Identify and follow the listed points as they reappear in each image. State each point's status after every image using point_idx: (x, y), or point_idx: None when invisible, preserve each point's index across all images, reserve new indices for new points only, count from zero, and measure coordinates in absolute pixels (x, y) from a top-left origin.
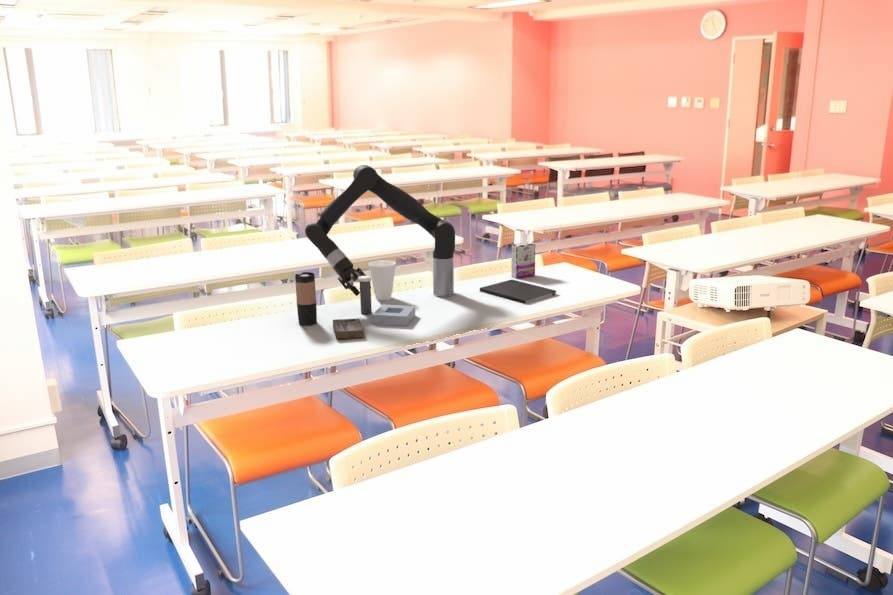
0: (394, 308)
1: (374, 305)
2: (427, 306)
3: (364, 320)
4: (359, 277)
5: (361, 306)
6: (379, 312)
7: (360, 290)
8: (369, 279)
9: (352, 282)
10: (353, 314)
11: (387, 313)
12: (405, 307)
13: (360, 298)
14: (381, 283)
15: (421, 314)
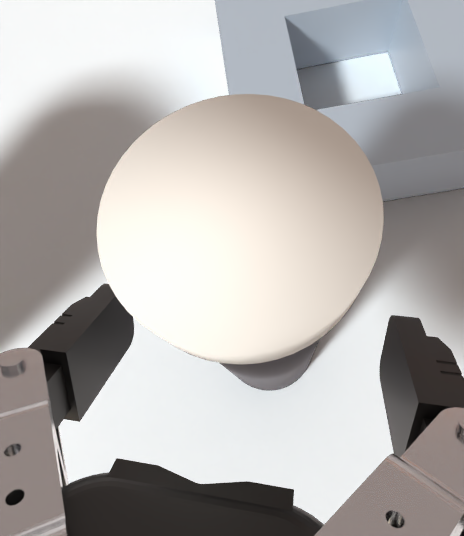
0: (296, 76)
1: None
2: (36, 54)
3: (451, 273)
4: (275, 330)
5: (309, 361)
6: (461, 112)
7: (317, 340)
8: (271, 114)
9: (431, 465)
10: (346, 433)
11: (455, 52)
12: (262, 16)
13: (300, 366)
14: None
15: (191, 22)
